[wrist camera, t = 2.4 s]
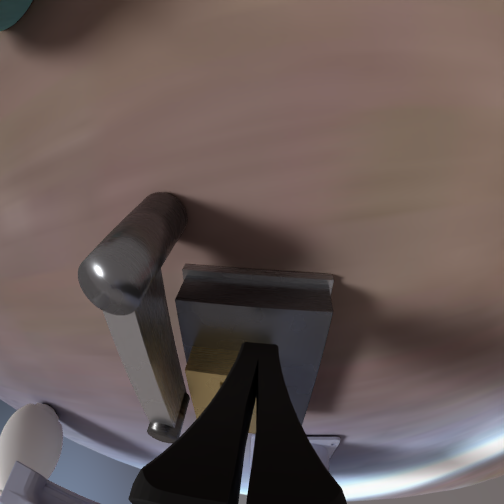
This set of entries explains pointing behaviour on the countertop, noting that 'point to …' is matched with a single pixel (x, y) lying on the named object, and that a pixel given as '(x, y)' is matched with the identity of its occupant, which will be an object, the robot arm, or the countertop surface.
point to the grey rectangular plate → (260, 317)
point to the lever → (142, 307)
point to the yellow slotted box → (210, 377)
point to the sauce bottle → (31, 441)
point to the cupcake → (12, 12)
